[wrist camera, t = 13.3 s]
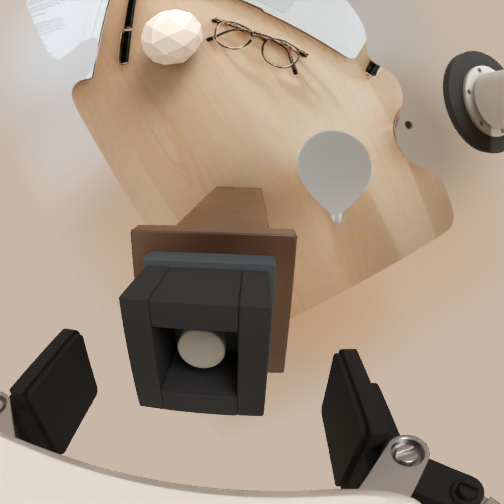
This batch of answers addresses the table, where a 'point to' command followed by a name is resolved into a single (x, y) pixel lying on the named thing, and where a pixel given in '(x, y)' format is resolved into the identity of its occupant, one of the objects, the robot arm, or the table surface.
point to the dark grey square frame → (203, 319)
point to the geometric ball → (171, 37)
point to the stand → (231, 247)
